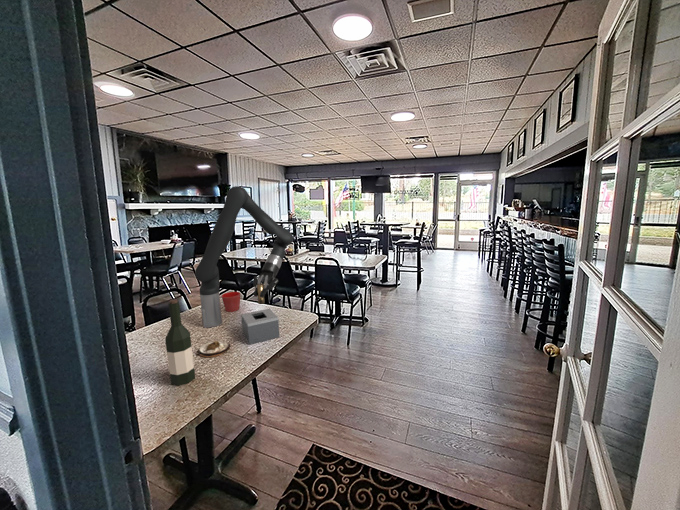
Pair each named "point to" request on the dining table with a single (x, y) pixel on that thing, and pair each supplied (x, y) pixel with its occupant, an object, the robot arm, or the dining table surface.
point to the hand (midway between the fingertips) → (258, 296)
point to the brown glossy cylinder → (259, 289)
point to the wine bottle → (179, 348)
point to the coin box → (260, 326)
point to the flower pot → (231, 301)
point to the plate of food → (214, 348)
